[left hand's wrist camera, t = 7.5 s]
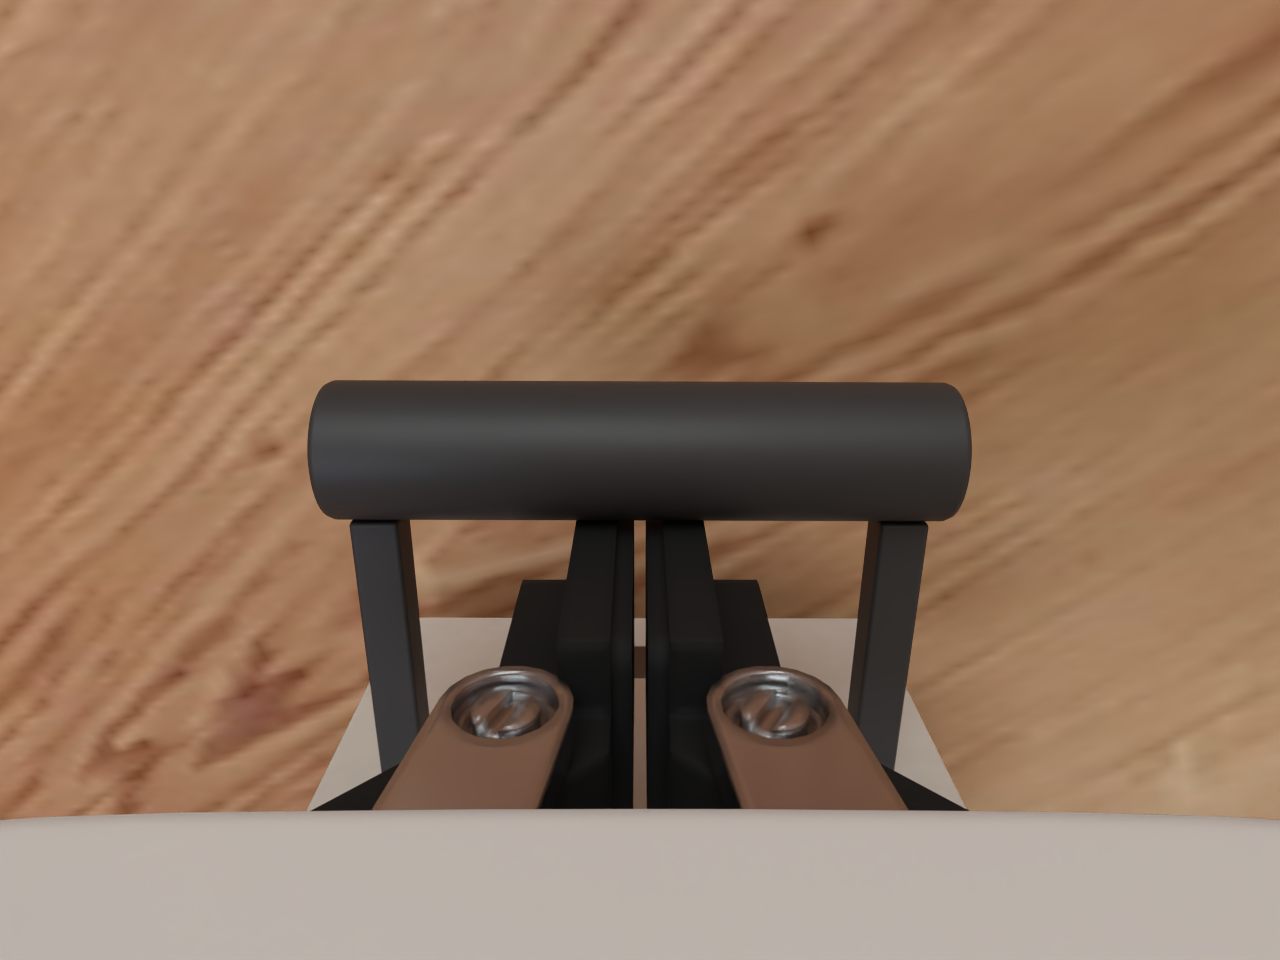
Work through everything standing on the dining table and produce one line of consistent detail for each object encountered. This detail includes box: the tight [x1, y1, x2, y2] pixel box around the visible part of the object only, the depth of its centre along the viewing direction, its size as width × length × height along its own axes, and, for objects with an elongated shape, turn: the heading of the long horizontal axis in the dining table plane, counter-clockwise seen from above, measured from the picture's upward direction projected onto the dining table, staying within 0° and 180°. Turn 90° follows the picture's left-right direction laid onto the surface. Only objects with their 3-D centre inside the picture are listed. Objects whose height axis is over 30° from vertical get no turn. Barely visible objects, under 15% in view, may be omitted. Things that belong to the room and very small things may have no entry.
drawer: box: [307, 380, 972, 811], centre depth 15 cm, size 20×10×7 cm, turn 0°
